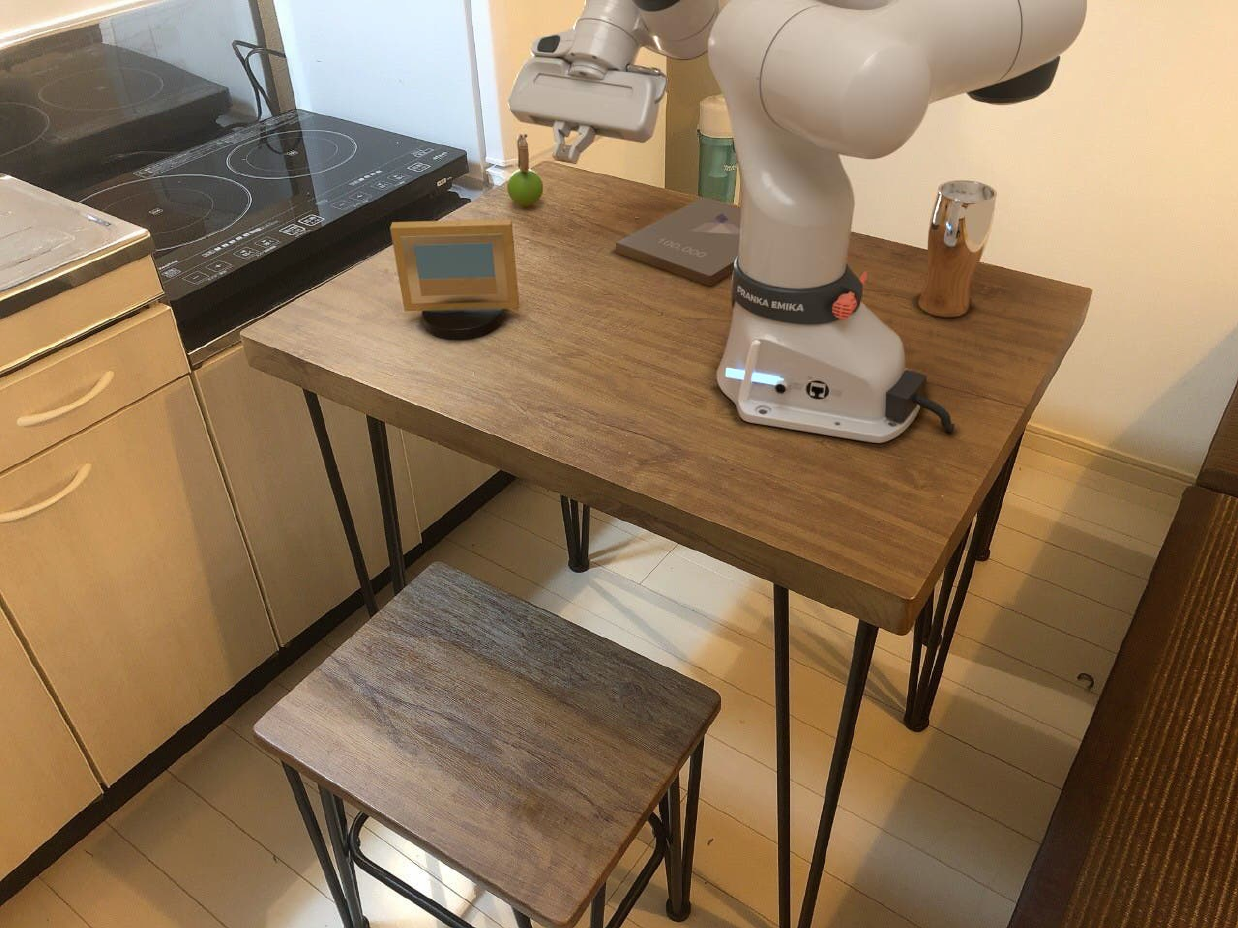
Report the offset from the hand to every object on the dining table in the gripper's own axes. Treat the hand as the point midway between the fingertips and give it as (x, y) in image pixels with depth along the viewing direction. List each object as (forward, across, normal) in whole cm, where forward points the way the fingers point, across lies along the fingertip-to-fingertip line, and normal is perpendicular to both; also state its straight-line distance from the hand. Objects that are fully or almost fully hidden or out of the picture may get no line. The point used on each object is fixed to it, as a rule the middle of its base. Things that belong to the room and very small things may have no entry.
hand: (563, 160), depth 123 cm
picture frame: (+22, +4, +5) cm, 23 cm away
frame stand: (+24, +4, +3) cm, 24 cm away
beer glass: (+2, -48, -18) cm, 51 cm away
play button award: (0, -14, -20) cm, 25 cm away
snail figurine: (0, +16, -20) cm, 26 cm away
